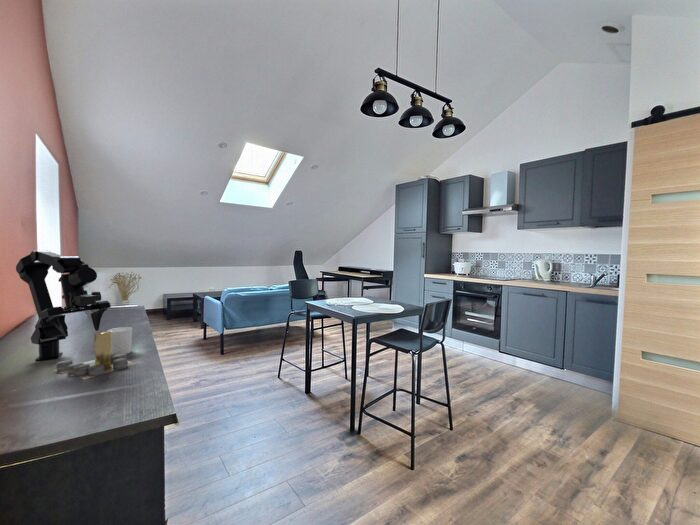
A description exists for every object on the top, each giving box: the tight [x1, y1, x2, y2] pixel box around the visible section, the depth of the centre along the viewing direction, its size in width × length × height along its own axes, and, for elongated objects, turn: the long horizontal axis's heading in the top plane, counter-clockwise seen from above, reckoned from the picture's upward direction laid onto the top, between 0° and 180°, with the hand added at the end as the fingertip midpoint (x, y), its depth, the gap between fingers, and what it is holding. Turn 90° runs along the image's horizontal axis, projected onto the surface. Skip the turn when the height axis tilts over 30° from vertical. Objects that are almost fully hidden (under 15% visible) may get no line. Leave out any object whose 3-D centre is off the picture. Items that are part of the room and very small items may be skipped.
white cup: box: [107, 326, 133, 355], centre depth 127 cm, size 8×8×10 cm
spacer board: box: [52, 353, 138, 380], centre depth 111 cm, size 19×16×3 cm
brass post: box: [93, 330, 112, 370], centre depth 109 cm, size 4×4×12 cm
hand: (82, 333), depth 114 cm, fingers open, 9 cm apart
